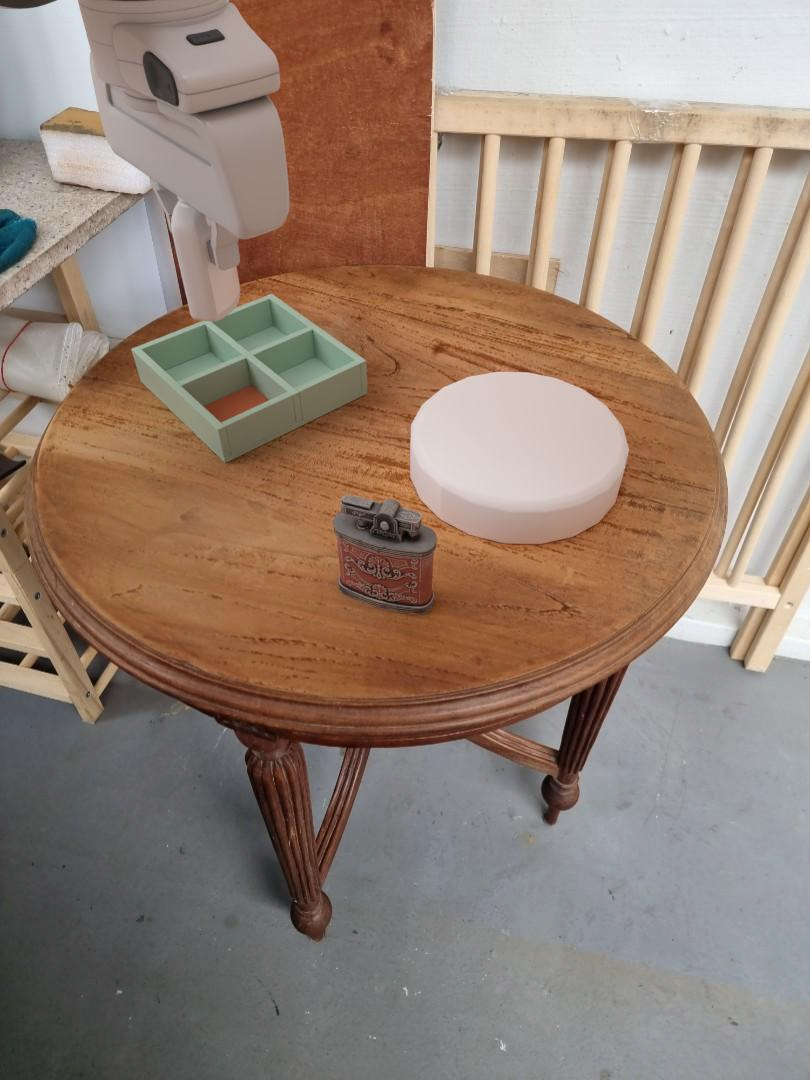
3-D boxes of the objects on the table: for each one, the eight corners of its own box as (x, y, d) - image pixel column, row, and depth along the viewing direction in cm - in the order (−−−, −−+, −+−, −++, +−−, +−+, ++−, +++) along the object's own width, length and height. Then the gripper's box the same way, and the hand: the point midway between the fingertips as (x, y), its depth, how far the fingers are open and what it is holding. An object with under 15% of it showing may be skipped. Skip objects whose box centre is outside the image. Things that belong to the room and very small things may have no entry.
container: (545, 385, 83) (552, 347, 80) (664, 502, 71) (678, 464, 67) (375, 436, 77) (374, 398, 74) (472, 574, 65) (476, 535, 61)
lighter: (439, 590, 64) (443, 502, 56) (426, 621, 61) (429, 534, 54) (348, 565, 65) (341, 477, 58) (332, 595, 63) (323, 507, 56)
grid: (225, 463, 74) (217, 429, 71) (140, 381, 83) (130, 348, 80) (367, 393, 82) (366, 360, 79) (276, 325, 91) (271, 293, 88)
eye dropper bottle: (261, 300, 62) (236, 142, 54) (207, 329, 59) (172, 167, 51) (225, 282, 64) (196, 127, 55) (171, 310, 61) (131, 151, 53)
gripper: (47, 12, 52) (106, 215, 63) (197, 90, 42) (239, 319, 52) (133, -3, 55) (176, 193, 65) (295, 66, 44) (316, 288, 54)
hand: (205, 250), depth 58 cm, fingers closed on eye dropper bottle, 4 cm apart
